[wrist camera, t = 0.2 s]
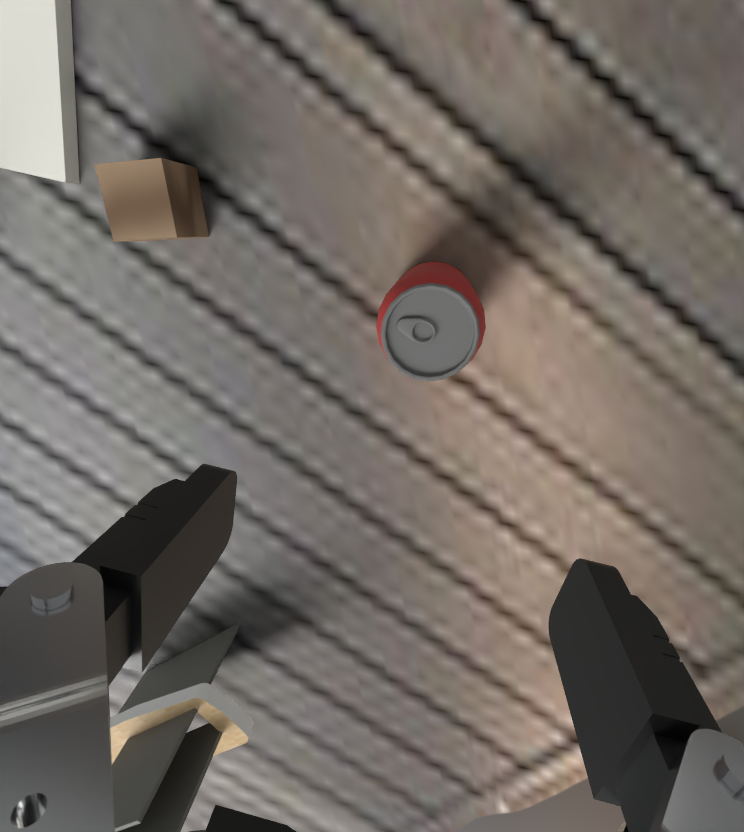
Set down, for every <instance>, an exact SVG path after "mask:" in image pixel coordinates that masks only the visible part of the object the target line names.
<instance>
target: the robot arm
mask: <svg viewBox="0 0 744 832" xmlns="http://www.w3.org/2000/svg"><path fill="white" fill-rule="evenodd" d="M236 485H237V474H236V472H235V471H231V470H227V469H223V468H219V467H215V466H211V465H207V464H203V465H201V466H200V467H199V468H198V469H197V470H196V471H195V472H194V473H193V474H192V475H191V476H190V477H189V478H188V479H187V480H186V481H181V480H177V479H174V480H171V481H169V482H167V483H165V484H162V485H160V486H158V487H156V488H153V489H152V490H151V491H150V492H149V493H148V494H147V495H146V496H145V497H143V498H142V499H141V500H140V501H139V502H138V505H135V506H133V507H132V508H131V509H130V510H129V511H128V512H127V513H126V514H125V517H121V518H120V519H119V520H118V521H117V522H116V523H115V524H114V525H112V526H111V527H110V528H109V529H108V530H107V531H106V532H105V533H104V534H103V535H101V536H100V537H99V538H98V539H97V540H96V541H95V542H94V543H93V544H91V545H90V546H89V547H88V548H87V549H86V550H85V551H84V552H83V553H82V554H80V555H79V556H78V557H77V558H76V559H75V560H74V561H73V562H63V563H55V564H50V565H46V566H43V567H40V568H37V569H35V570H32V571H30V572H28V573H26V574H24V575H22V576H21V577H19V578H18V579H16V580H15V581H14V582H13V583H11V584H10V585H9V586H8V587H0V832H115V820H114V799H113V777H112V755H111V733H110V710H109V688H108V686H109V685H110V683H111V682H112V681H113V679H114V678H115V677H116V675H117V674H118V672H119V671H120V670H121V668H122V667H123V668H126V669H130V670H134V671H137V672H141V673H142V672H143V670H144V669H145V667H146V666H147V664H148V663H149V661H150V660H151V659H152V657H153V656H154V654H155V653H156V651H157V650H158V648H159V647H160V645H161V644H162V642H163V641H164V639H165V638H166V636H167V635H168V633H169V632H170V630H171V629H172V627H173V626H174V624H175V623H176V621H177V620H178V618H179V617H180V615H181V614H182V612H183V611H184V609H185V608H186V606H187V605H188V603H189V602H190V600H191V599H192V597H193V596H194V594H195V593H196V591H197V590H198V588H199V587H200V586H201V584H202V583H203V581H204V580H205V578H206V577H207V575H208V574H209V572H210V571H211V569H212V568H213V566H214V565H215V563H216V562H217V560H218V559H219V557H220V556H221V554H222V553H223V551H224V549H225V548H226V545H227V543H228V541H229V538H230V535H231V531H232V527H233V517H234V507H235V496H236ZM549 636H550V640H551V643H552V647H553V651H554V654H555V658H556V662H557V665H558V669H559V673H560V676H561V680H562V684H563V687H564V691H565V695H566V698H567V702H568V706H569V709H570V713H571V717H572V720H573V724H574V728H575V731H576V735H577V739H578V742H579V746H580V750H581V753H582V757H583V761H584V764H585V768H586V772H587V775H588V779H589V783H590V786H591V790H592V794H593V797H594V799H596V800H600V801H604V802H607V803H611V804H615V805H618V806H621V809H622V812H623V815H624V818H625V821H624V823H623V824H622V825H621V827H620V828H619V830H618V832H744V745H743V744H742V743H740V742H739V741H737V740H735V739H734V738H732V737H730V736H728V735H726V734H724V733H722V731H721V730H720V728H719V726H718V724H717V723H716V721H715V719H714V717H713V715H712V714H711V712H710V710H709V708H708V707H707V705H706V703H705V701H704V700H703V698H702V696H701V694H700V692H699V691H698V689H697V687H696V685H695V684H694V682H693V680H692V678H691V676H690V675H689V673H688V671H687V669H686V668H685V666H684V664H683V663H682V662H680V661H679V659H680V657H679V655H678V653H677V652H676V650H675V648H674V646H673V645H672V643H669V638H668V636H667V634H666V632H665V630H664V629H663V627H662V625H661V623H660V622H659V620H658V618H657V617H656V616H655V615H654V613H653V612H652V611H651V610H650V609H649V608H648V607H647V606H646V605H645V604H644V603H643V602H642V601H641V600H640V599H639V598H638V597H637V596H635V595H631V594H630V592H629V590H628V588H627V586H626V584H625V582H624V580H623V579H622V577H621V575H620V573H619V571H618V570H617V569H616V568H615V567H613V566H609V565H605V564H601V563H597V562H593V561H589V560H585V559H581V558H580V559H577V560H576V561H575V562H574V563H573V565H572V567H571V569H570V571H569V573H568V575H567V577H566V579H565V581H564V583H563V585H562V587H561V590H560V592H559V594H558V596H557V598H556V600H555V602H554V604H553V606H552V609H551V612H550V617H549ZM190 832H296V831H295V830H293V829H292V828H290V827H289V826H287V825H284V824H281V823H277V822H274V821H270V820H267V819H263V818H260V817H256V816H253V815H249V814H246V813H242V812H239V811H235V810H232V809H228V808H225V807H222V806H218V805H215V808H214V810H213V813H212V815H211V818H210V821H209V823H208V826H207V828H206V830H200V831H190Z"/></svg>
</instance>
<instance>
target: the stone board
mask: <svg viewBox="0 0 744 832" xmlns="http://www.w3.org/2000/svg"><path fill="white" fill-rule="evenodd" d="M0 168H4V169H9V170H13V171H18V172H22V173H26V174H31V175H35V176H40V177H44V178H49V179H53V180H58V181H62V182H67V183H74V184H80V182H79V161H78V141H77V120H76V99H75V79H74V58H73V37H72V17H71V0H0Z"/></svg>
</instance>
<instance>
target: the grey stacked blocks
mask: <svg viewBox="0 0 744 832" xmlns="http://www.w3.org/2000/svg"><path fill="white" fill-rule="evenodd" d="M239 627H240V624H239V623H238V624H236V625H234V626H232V627H230V628H228V629H226V630H224V631H223V632H221V633H219V634H217V635H215V636H213V637H211V638H209V639H207V640H205V641H204V642H202V643H200V644H198V645H196V646H194V647H192V648H190V649H188V650H186V651H185V652H183V653H181V654H179V655H177V656H175V657H173V658H171V659H169V660H167V661H166V662H164V663H162V664H160V665H158V666H156V667H154V668H152V669H150V670H149V671H147V672H145V674H144V675H143V677H142V678H141V680H140V681H139V683H138V684H137V686H136V687H135V689H134V690H133V692H132V693H131V695H130V696H129V698H128V699H127V701H126V702H125V704H124V705H123V707H122V708H121V710H120V711H119V713H118V714H117V715H115V716H113V717H111V718H110V733H111V755H112V777H113V799H114V820H115V832H180V831H181V829H182V827H183V824H184V822H185V820H186V817H187V815H188V813H189V810H190V808H191V806H192V803H193V801H194V799H195V796H196V794H197V792H198V789H199V787H200V785H201V782H202V780H203V778H204V775H205V773H206V771H207V769H208V766H209V764H210V762H211V759H212V757H213V756H214V755H217V754H219V753H222V752H224V751H227V750H229V749H232V748H234V747H237V746H239V745H242V744H244V743H246V742H247V741H248V738H249V736H250V733H251V730H252V728H253V725H254V721H253V719H252V718H251V717H250V716H249V715H248V714H247V713H246V712H245V711H244V710H243V709H242V708H240V707H239V706H238V705H237V704H236V703H235V702H234V701H233V700H232V699H231V698H230V697H228V696H227V695H226V694H224V693H223V692H221V691H220V690H218V689H217V688H216V687H214V686H213V685H211V683H212V681H213V679H214V677H215V675H216V673H217V671H218V669H219V667H220V665H221V663H222V661H223V659H224V657H225V655H226V653H227V651H228V649H229V647H230V645H231V643H232V641H233V639H234V637H235V635H236V633H237V631H238V629H239ZM197 712H198V713H199V714H200V715H202V716H203V717H204V718H205V719H206V720H207V721H208V722H209V723H208V724H206V725H204V726H201V727H199V728H197V729H195V730H192V731H190V732H188V733H186V732H187V730H188V728H189V726H190V724H191V722H192V720H193V718H194V716H195V714H196V713H197Z"/></svg>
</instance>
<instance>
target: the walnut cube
mask: <svg viewBox="0 0 744 832" xmlns="http://www.w3.org/2000/svg"><path fill="white" fill-rule="evenodd" d="M94 165H95V169H96V173H97V177H98V181H99V185H100V189H101V193H102V197H103V201H104V205H105V209H106V213H107V217H108V221H109V225H110V229H111V233H112V237H113V241H114V242H119V241H154V240H169V239H184V238H199V237H209V234H208V229H207V223H206V217H205V212H204V206H203V201H202V195H201V189H200V184H199V178H198V172H197V167H193V166H189V165H185V164H182V163H178V162H174V161H171V160H167V159H163V158H155V159H144V160H134V161H124V162H113V163H103V164H94Z"/></svg>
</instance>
